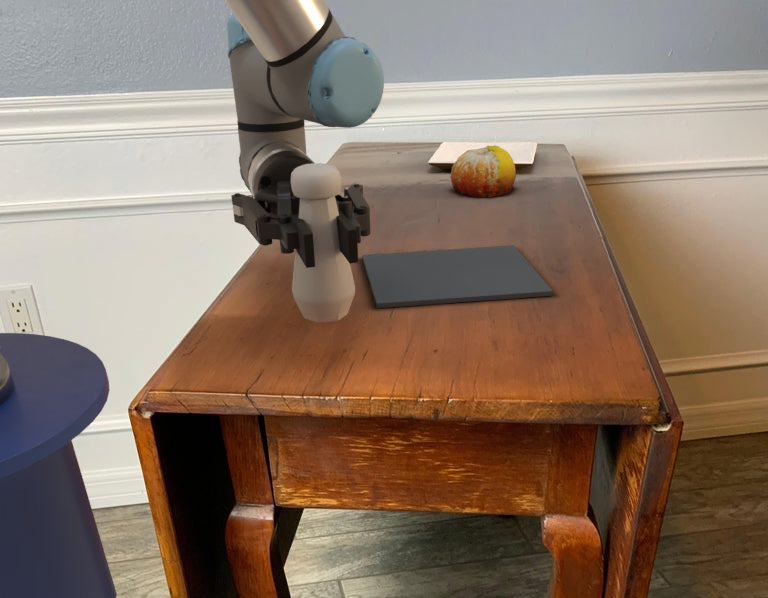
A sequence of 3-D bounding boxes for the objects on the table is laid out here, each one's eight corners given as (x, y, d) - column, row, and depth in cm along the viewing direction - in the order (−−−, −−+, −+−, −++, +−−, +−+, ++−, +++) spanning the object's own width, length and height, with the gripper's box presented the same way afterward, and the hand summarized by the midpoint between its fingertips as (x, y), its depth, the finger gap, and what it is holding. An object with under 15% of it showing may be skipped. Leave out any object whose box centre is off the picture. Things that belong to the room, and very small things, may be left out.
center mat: (376, 308, 88) (376, 303, 87) (362, 259, 103) (362, 254, 102) (552, 296, 89) (553, 290, 89) (513, 249, 104) (513, 244, 104)
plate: (441, 153, 158) (442, 141, 157) (536, 153, 155) (537, 141, 153) (427, 173, 143) (427, 161, 142) (532, 174, 140) (532, 162, 138)
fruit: (453, 179, 137) (468, 130, 132) (510, 199, 136) (527, 151, 131) (440, 192, 128) (455, 141, 123) (500, 214, 127) (518, 164, 122)
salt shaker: (360, 322, 72) (354, 170, 65) (298, 328, 71) (284, 175, 64) (350, 301, 77) (343, 157, 69) (291, 306, 76) (277, 161, 69)
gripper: (362, 217, 88) (424, 283, 69) (217, 231, 85) (239, 303, 66) (360, 144, 84) (424, 193, 65) (206, 155, 80) (227, 210, 62)
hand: (331, 248), depth 65 cm, fingers closed on salt shaker, 3 cm apart
